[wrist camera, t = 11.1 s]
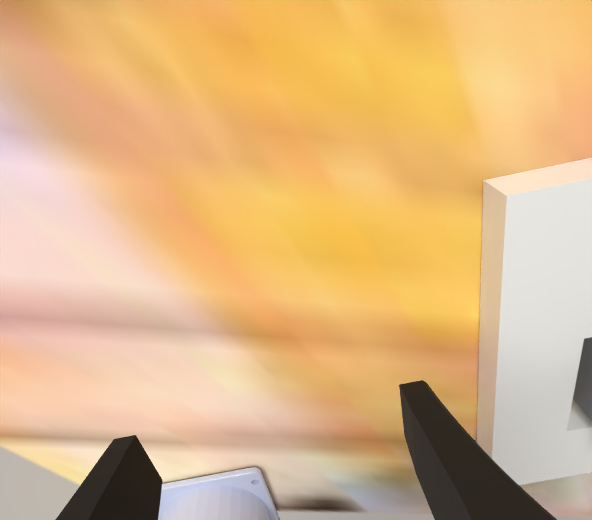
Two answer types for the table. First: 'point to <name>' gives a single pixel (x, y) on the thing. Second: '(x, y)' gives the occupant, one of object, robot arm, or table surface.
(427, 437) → the robot arm
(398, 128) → the table surface
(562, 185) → the base plate
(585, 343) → the block
